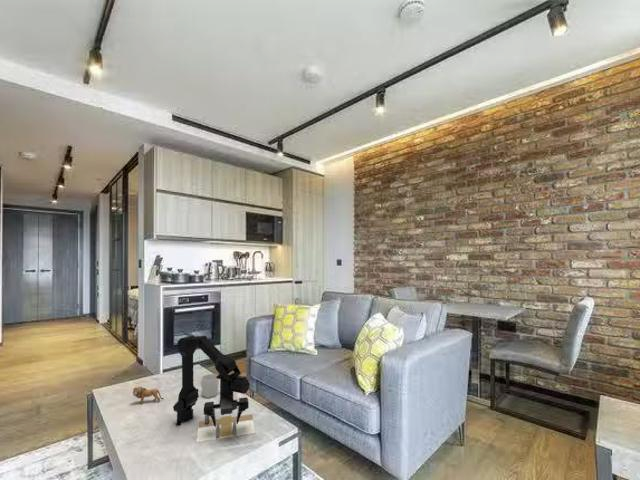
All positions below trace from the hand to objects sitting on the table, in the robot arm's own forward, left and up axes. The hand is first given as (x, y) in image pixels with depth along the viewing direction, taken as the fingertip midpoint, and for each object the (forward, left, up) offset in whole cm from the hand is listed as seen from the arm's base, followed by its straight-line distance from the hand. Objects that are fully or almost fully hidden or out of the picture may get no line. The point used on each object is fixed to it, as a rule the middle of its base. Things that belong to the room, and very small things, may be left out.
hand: (226, 425), depth 139 cm
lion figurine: (-40, +42, -4) cm, 58 cm away
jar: (+1, +30, -4) cm, 30 cm away
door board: (0, +3, -4) cm, 5 cm away
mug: (-10, +43, -4) cm, 44 cm away
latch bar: (0, 0, -2) cm, 2 cm away
